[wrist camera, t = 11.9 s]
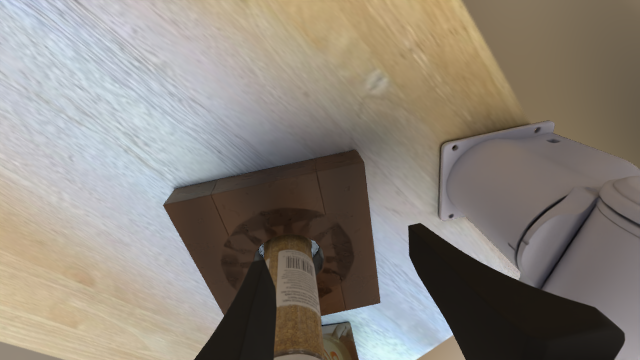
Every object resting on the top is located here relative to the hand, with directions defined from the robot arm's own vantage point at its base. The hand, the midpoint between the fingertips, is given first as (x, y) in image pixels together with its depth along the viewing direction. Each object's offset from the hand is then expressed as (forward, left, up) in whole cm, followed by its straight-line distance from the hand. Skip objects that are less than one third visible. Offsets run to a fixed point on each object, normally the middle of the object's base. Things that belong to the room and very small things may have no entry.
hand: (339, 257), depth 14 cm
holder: (+4, +7, -10) cm, 13 cm away
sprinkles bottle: (+4, +7, -11) cm, 13 cm away
